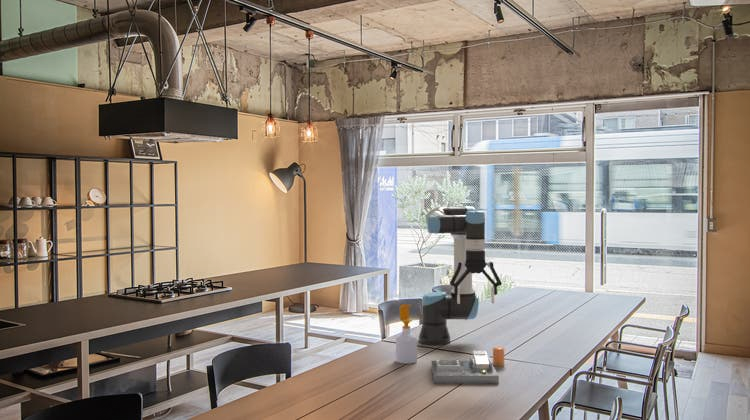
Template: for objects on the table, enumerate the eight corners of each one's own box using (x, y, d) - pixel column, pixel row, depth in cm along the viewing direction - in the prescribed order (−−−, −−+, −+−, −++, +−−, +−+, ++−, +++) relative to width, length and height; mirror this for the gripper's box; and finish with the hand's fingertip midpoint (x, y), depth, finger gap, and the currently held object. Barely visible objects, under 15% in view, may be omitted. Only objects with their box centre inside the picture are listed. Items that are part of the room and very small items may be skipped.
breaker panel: (431, 368, 252) (431, 352, 252) (490, 367, 251) (490, 352, 251) (434, 383, 232) (434, 367, 232) (498, 383, 231) (498, 367, 231)
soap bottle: (399, 365, 257) (399, 306, 256) (393, 359, 265) (392, 302, 264) (420, 363, 259) (419, 305, 258) (413, 357, 268) (412, 301, 267)
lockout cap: (492, 363, 257) (492, 347, 257) (503, 363, 257) (503, 347, 257) (493, 366, 253) (493, 350, 252) (505, 366, 253) (505, 349, 252)
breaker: (473, 355, 247) (473, 350, 246) (485, 355, 246) (486, 350, 246) (476, 368, 238) (476, 363, 237) (489, 368, 238) (489, 363, 237)
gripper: (444, 250, 241) (444, 304, 242) (508, 250, 240) (508, 304, 241) (443, 249, 248) (443, 301, 249) (505, 248, 248) (505, 301, 248)
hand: (475, 303), depth 245 cm, fingers open, 13 cm apart
